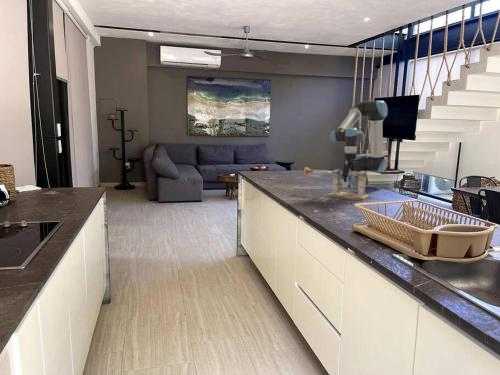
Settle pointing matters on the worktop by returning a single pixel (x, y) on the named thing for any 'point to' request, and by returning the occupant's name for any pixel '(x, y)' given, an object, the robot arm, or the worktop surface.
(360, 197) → the cradle
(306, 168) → the lock shaft
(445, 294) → the worktop surface
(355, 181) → the light bulb box
